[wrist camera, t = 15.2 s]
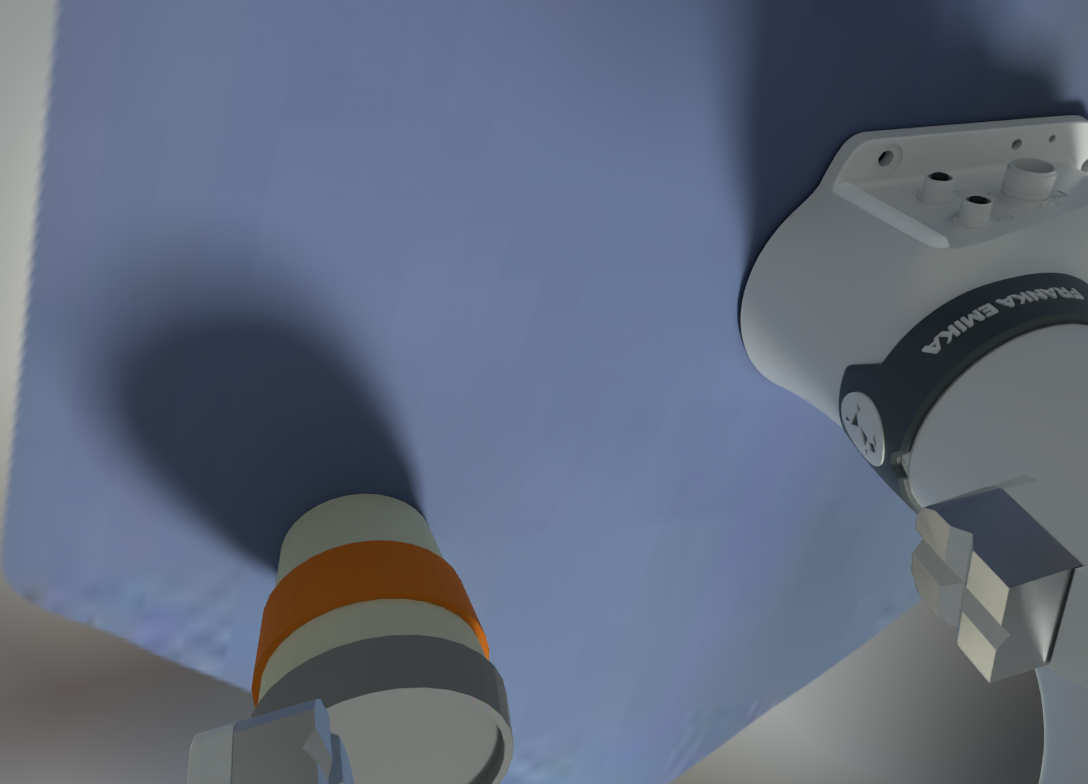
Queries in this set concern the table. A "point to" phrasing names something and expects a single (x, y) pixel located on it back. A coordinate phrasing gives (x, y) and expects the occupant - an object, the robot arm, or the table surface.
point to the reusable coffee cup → (383, 647)
